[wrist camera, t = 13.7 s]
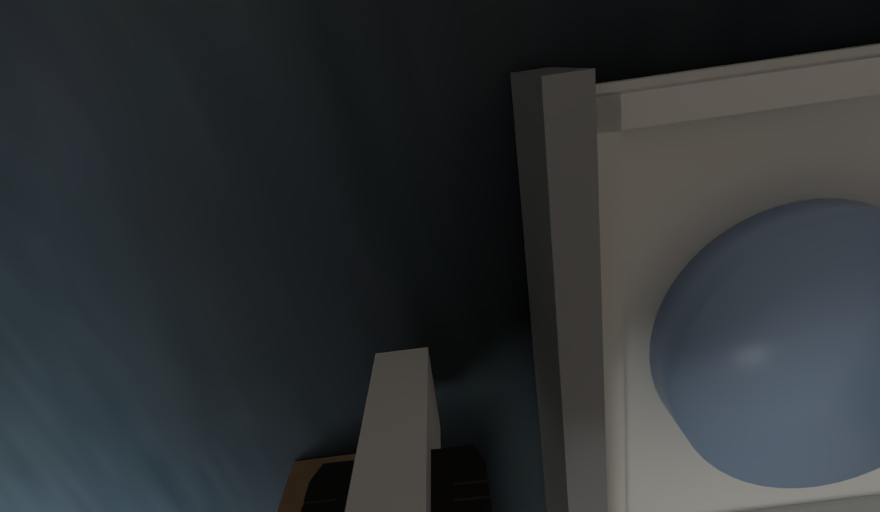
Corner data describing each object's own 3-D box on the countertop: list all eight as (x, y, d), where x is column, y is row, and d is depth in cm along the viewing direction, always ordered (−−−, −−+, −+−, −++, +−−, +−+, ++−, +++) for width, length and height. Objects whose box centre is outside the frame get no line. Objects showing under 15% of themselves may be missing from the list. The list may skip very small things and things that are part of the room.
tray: (548, 535, 19) (577, 647, 15) (510, 72, 13) (541, 76, 10) (1042, 476, 18) (1192, 576, 15) (1221, -30, 13) (1531, -67, 9)
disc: (653, 466, 16) (675, 507, 15) (643, 227, 13) (671, 248, 12) (913, 426, 16) (964, 464, 14) (960, 172, 13) (1030, 187, 12)
